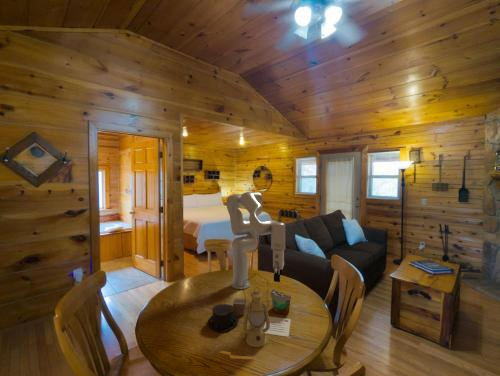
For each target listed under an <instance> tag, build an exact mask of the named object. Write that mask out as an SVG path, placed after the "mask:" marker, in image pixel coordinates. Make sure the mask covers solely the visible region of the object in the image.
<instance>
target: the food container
mask: <svg viewBox="0 0 500 376" xmlns="http://www.w3.org/2000/svg"><path fill="white" fill-rule="evenodd" d="M274 289H275V288H272V289H271V291H270V297H271V303H272V311H273V312H274V314H277V315H287V314H289V313H290V307H291V300H292V296H291V294H289V295H288V294H285V293H283V292H280V291H276V290H274Z"/></svg>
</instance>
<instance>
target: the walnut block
mask: <svg viewBox="0 0 500 376" xmlns="http://www.w3.org/2000/svg"><path fill="white" fill-rule="evenodd" d="M232 306H233V307H234V314H233V315H235V316H245V311H246V308H245V307H247V300H246V301H245V298H239V297H238V298H237V297H236V298H234V300H233V303H232Z"/></svg>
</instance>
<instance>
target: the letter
mask: <svg viewBox="0 0 500 376" xmlns="http://www.w3.org/2000/svg"><path fill="white" fill-rule="evenodd" d="M269 322H270V328H269V329H268V331H267V332H265V335H272V336H278V337H279V336H280V337H284V338H289V336H290V327H291V323H292V322H291V318H284V317H276V316H269ZM264 328H266V321H265V322H264V324H263V327H262V329H264Z"/></svg>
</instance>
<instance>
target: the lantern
mask: <svg viewBox="0 0 500 376" xmlns="http://www.w3.org/2000/svg"><path fill="white" fill-rule="evenodd" d="M256 274H257V275H258V276H259V278H262V279H264V280H266V278H265V277H263V276H261V275H260V274H259V273H258V272H257V273H255V274H254V275H253V276H251V277H248V279H247V280H248V281H249V280H250V279H253V278H255V276H256ZM244 282H245V281H244ZM266 283H267V285H269V281H268V280H266ZM243 286H244V283H243ZM256 288H257V289H259V287H258V286H256V287H255V288H254V289H253V292H251V293H250V297H251V298H252V299H251V302H250V303H248V304H246V307H245V308H246V311H245V315H244V316H243V317H244V318H243V325H242V329H243V332H244V333H246V334H247V336H246V339H245V342H246V344H247V345H248V346H250V347H252V348H261V347H263V346H265V345H266V344H267V342H268V339H267V337H266V334H265V332H267V331H268V329H269V328H270V322H269V310H268V307H269V305H270V304H269V303H270V302H269V300H268V298H266V300H267V303H266V302H263V301H262V299H261V298H262V297H263V296H264V295H263V293H262V292H260V291H255V289H256ZM244 290H245V289H242V292H243V294H244V299H245V301H246V302H247V297H246V294H245V293H246V292H245V291H244ZM268 291H269V290H267V291H266V293H268ZM248 321H249V326H250V327H251V328H250V329H248ZM265 322H266V328H264V325H265ZM263 328H264V329H263Z"/></svg>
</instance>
